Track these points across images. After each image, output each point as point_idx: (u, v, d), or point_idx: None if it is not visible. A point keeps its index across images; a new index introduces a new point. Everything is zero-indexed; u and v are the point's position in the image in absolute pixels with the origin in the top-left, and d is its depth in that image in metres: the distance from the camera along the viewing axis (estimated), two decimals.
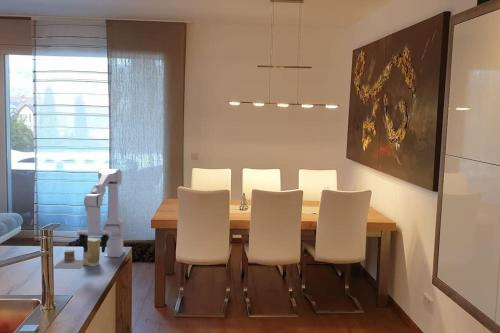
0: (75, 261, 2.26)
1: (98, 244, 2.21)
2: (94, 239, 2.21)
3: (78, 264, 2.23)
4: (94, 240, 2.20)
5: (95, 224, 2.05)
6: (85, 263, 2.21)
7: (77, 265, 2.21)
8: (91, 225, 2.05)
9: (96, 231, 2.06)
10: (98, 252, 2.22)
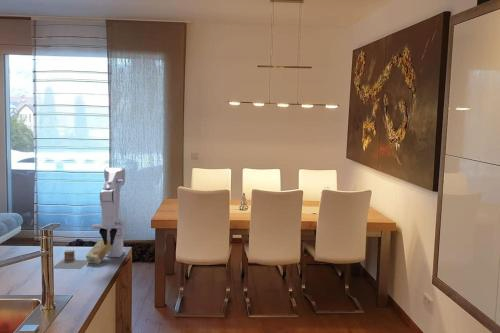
0: (75, 261, 2.26)
1: (109, 247, 2.31)
2: None
3: (78, 264, 2.23)
4: None
5: (109, 218, 2.17)
6: (89, 255, 2.23)
7: (77, 265, 2.21)
8: (106, 220, 2.17)
9: (110, 225, 2.18)
10: (105, 254, 2.28)
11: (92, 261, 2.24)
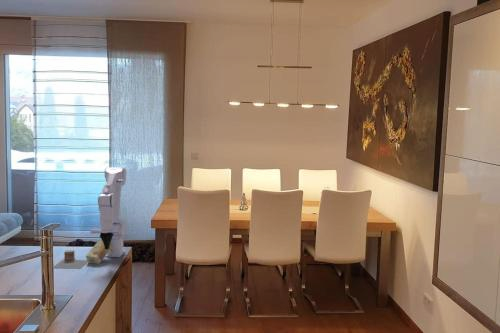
0: (75, 261, 2.26)
1: (109, 247, 2.31)
2: None
3: (78, 264, 2.23)
4: None
5: (108, 223, 2.18)
6: (89, 255, 2.23)
7: (77, 265, 2.21)
8: (104, 224, 2.17)
9: (109, 229, 2.18)
10: (105, 254, 2.28)
11: (92, 261, 2.24)
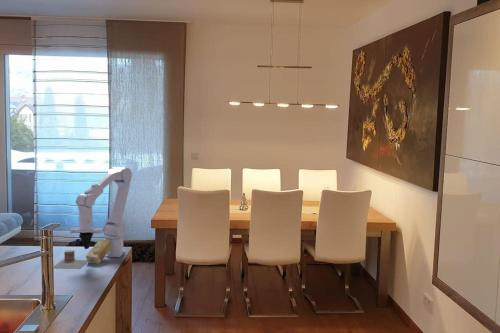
0: (75, 261, 2.26)
1: (109, 247, 2.31)
2: None
3: (78, 264, 2.23)
4: None
5: (87, 222, 2.18)
6: (89, 255, 2.23)
7: (77, 265, 2.21)
8: (83, 224, 2.17)
9: (88, 229, 2.18)
10: (105, 254, 2.28)
11: (92, 261, 2.24)
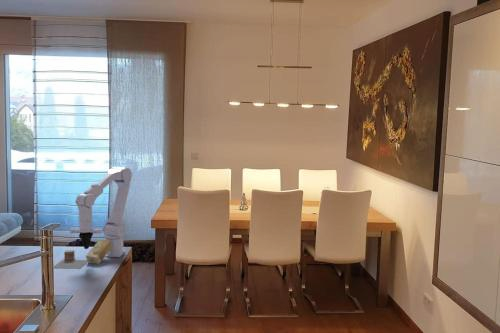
0: (75, 261, 2.26)
1: (109, 247, 2.31)
2: None
3: (78, 264, 2.23)
4: None
5: (87, 222, 2.18)
6: (89, 255, 2.23)
7: (77, 265, 2.21)
8: (83, 224, 2.17)
9: (88, 229, 2.18)
10: (105, 254, 2.28)
11: (92, 261, 2.24)
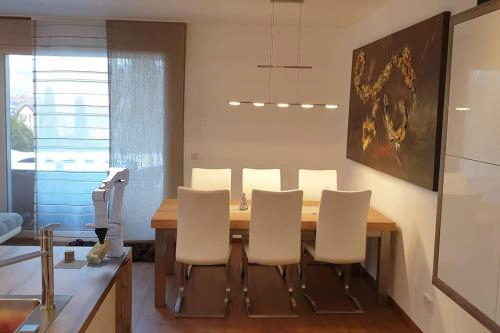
0: (75, 261, 2.26)
1: (109, 247, 2.31)
2: None
3: (78, 264, 2.23)
4: None
5: (102, 217, 2.17)
6: (89, 255, 2.23)
7: (77, 265, 2.21)
8: (98, 219, 2.17)
9: (103, 224, 2.18)
10: (105, 254, 2.28)
11: (92, 261, 2.24)
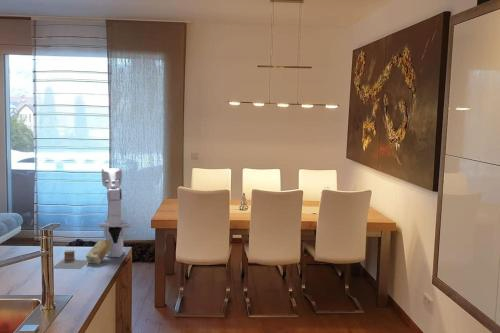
0: (75, 261, 2.26)
1: (109, 247, 2.31)
2: None
3: (78, 264, 2.23)
4: None
5: (116, 217, 2.19)
6: (89, 255, 2.23)
7: (77, 265, 2.21)
8: (112, 218, 2.19)
9: (117, 223, 2.20)
10: (105, 254, 2.28)
11: (92, 261, 2.24)
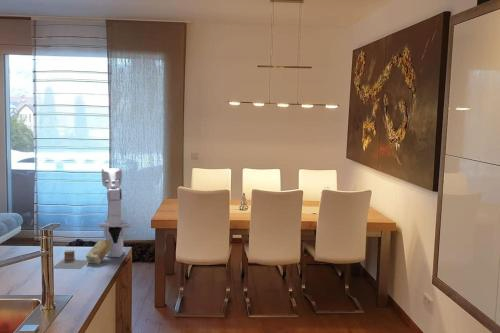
0: (75, 261, 2.26)
1: (109, 247, 2.31)
2: None
3: (78, 264, 2.23)
4: None
5: (116, 217, 2.19)
6: (89, 255, 2.23)
7: (77, 265, 2.21)
8: (112, 218, 2.19)
9: (117, 223, 2.20)
10: (105, 254, 2.28)
11: (92, 261, 2.24)
